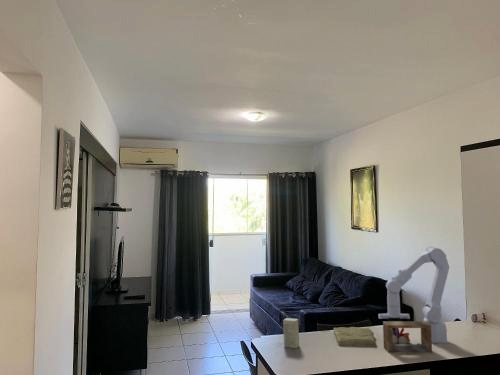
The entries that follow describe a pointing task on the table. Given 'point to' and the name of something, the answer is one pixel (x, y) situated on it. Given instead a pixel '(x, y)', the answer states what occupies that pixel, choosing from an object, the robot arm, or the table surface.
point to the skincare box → (291, 332)
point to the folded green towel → (354, 336)
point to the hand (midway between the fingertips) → (394, 333)
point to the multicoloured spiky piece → (400, 336)
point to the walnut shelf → (407, 348)
